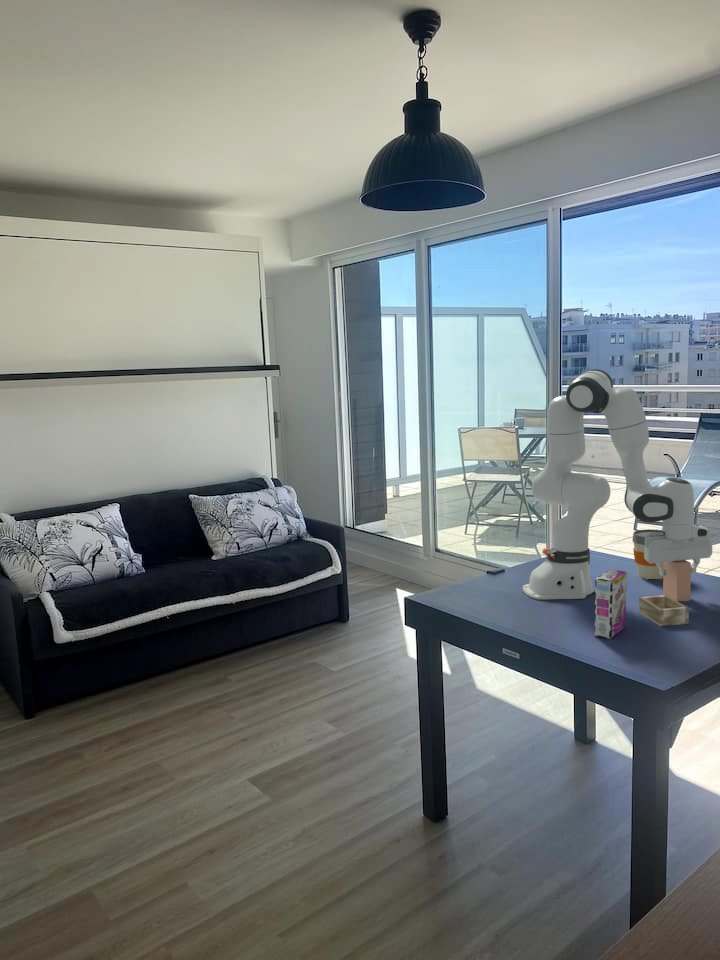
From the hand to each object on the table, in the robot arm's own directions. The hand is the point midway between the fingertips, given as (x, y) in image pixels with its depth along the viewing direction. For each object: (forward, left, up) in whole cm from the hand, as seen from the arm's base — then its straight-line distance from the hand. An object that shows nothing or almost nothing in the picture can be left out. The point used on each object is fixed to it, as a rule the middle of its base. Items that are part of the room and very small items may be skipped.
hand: (677, 573), depth 225 cm
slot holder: (-13, -15, -8) cm, 22 cm away
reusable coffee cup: (+4, +24, -8) cm, 25 cm away
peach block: (0, +1, -8) cm, 8 cm away
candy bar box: (-32, -22, -8) cm, 40 cm away
